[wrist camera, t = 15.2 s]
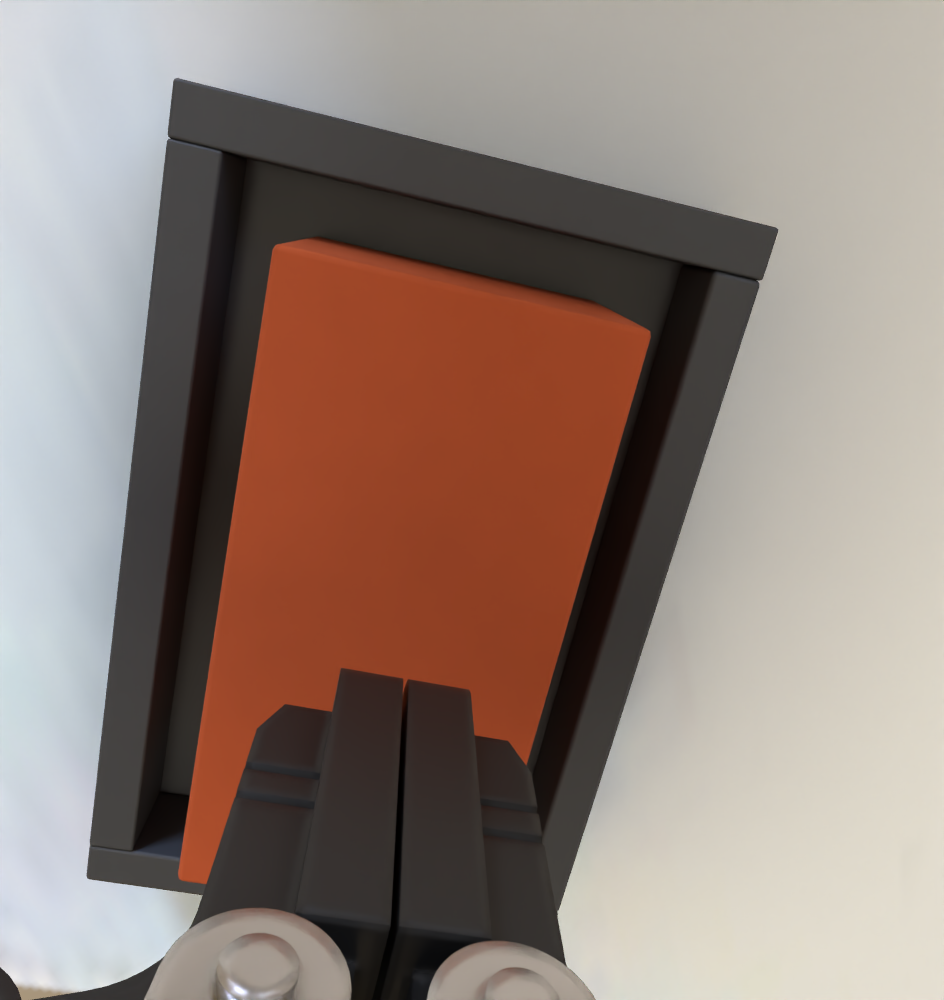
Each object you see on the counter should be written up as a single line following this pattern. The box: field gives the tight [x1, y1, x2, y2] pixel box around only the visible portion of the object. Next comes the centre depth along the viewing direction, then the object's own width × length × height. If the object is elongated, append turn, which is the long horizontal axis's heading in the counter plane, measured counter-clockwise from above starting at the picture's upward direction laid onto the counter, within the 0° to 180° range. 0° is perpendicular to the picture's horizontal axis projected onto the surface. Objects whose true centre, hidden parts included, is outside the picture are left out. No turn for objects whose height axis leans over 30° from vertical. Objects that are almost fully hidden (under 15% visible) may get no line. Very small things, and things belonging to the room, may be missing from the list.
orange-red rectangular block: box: [178, 237, 651, 884], centre depth 14 cm, size 10×5×4 cm, turn 167°
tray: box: [87, 78, 778, 915], centre depth 16 cm, size 14×9×2 cm, turn 167°
